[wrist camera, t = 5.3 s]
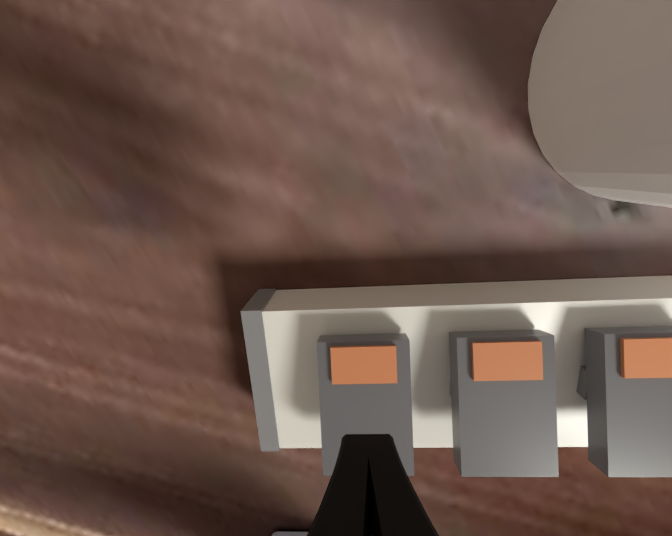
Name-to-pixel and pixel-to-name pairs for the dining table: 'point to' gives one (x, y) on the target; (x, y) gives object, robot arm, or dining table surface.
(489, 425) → the rocker
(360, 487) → the robot arm
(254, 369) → the power strip
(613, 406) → the block
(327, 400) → the rocker
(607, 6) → the bottle
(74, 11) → the dining table surface
